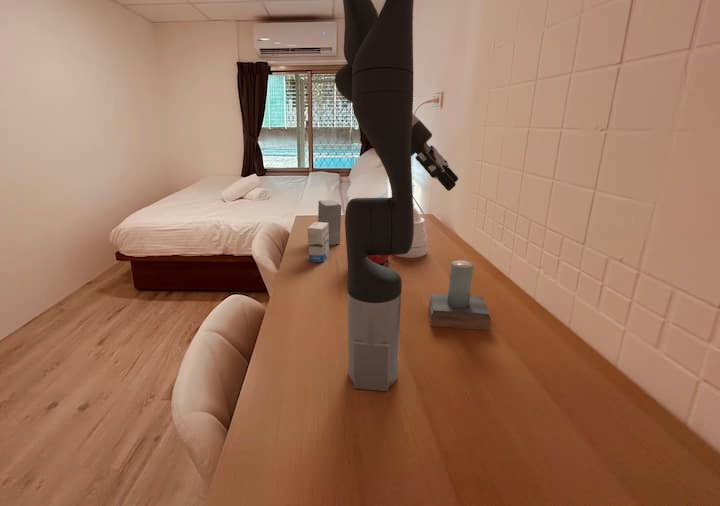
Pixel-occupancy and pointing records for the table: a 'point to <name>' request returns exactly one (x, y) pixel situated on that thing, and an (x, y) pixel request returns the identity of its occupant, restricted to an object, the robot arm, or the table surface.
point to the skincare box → (331, 219)
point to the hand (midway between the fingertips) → (454, 184)
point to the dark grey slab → (458, 313)
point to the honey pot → (417, 238)
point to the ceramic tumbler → (460, 284)
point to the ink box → (318, 242)
